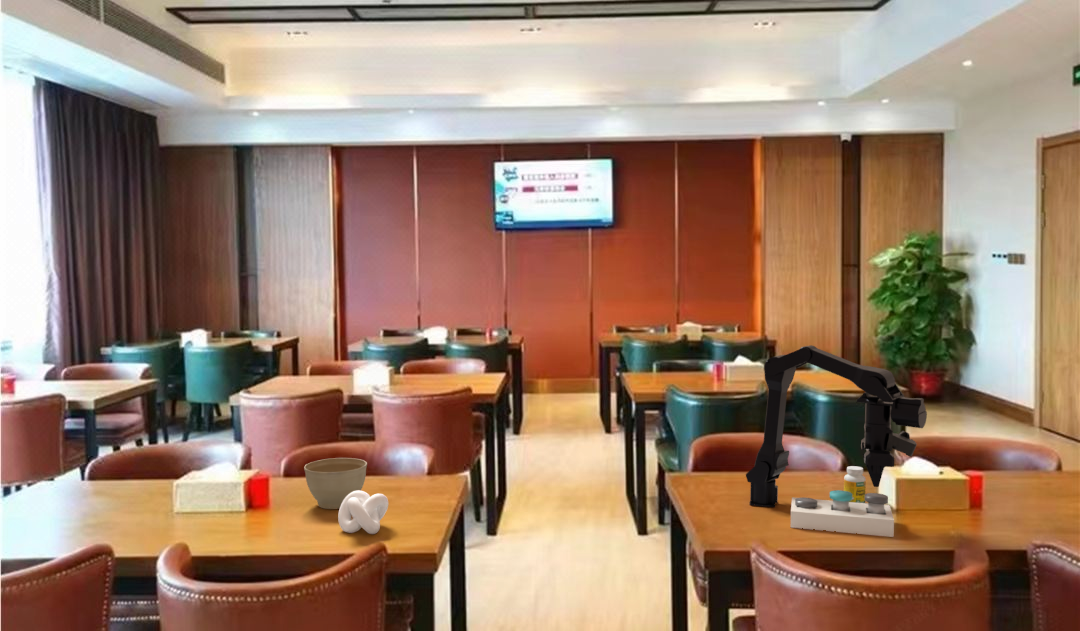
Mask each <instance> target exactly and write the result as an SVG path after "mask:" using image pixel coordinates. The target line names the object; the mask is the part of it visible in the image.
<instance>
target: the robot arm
mask: <svg viewBox="0 0 1080 631" xmlns="http://www.w3.org/2000/svg"><path fill="white" fill-rule="evenodd" d="M807 364H809V365H812V366H814V367H817V368H820V369H822V370H824V371H827V372H829V373H832V374H834V375H836V376H839V377H842V378H844V379H846V380H848V381H850V382H851V383H852V384H854V385H855V386H856V387H857V388H858V389H860V390H861V391H863V393H862V395H861V396H859V397H858V398H857V399H856V402H857V403H862V404H865V409H864V410H865V414H864V426H863V428H864V437H863V438H862V439H861V440H860V441H861V444H860V448H861V450H862V451H864V450H866V451H865V452H864V453H863V454H862V458H863V462H864V465H865V467H866V469H867V472H868V475H869V477H870V481H871V483H872V485H873V487H874V488H879V486H880V483H881V479H882V476H883V473H884V470H885V467H887V468H888V467H889V468H892V467H895V457H894V454H893V453H891V452H893V450H896V451H898V452H901V453H902V454H905V455H906V456H908V457H912V456H913V455H914V452H915V450H916V448H917V445H918V444H917V442H916V441H915V440H914V439H911V436H910V433H909V432H907V431H904V430H902V431H900V432H899V433H897V432H896V433H894V431H893V428H892V424H891V423H892V422H893V423H894V424H895V425H896V426H902V427H907V428H908V427H909V428H918V429H923V428H924V427H925V425H926V422H927V415H928V412H927V408H926V406H925V402H924V401H925V400H924V398H922V397H921V398H920V397H916V398H914V397H913V398H912V397H905V395H904V393H903V392H902V391H901V389H900V388H899V386H898V385H897V383H896V379H895V376H894V373H892V372H891V371H890V370H888V369H884V368H880V367H876V366H869V365H862V364H859V363H855V362H853V361H850V360H848V359H845V358H843V357H841V356H837V355H835V354H833V353H831V352H828V351H825V350H822V349H820V348H818V347H817V346H815V345H806V346H805V345H804V346H801V347H800V348H799V349H797V350H795V351H792V352H790V353H788V354H780V355H776V356H772V357H770V358H769V357H768V359H767V360H766V361H765V362H764V365H763V366H764V367H763V369H764V370H763V372H764V380H765V384H766V386H767V389H768V390H767V391H768V392H767V403H766V412H765V413H766V414H765V423H764V432H763V442H762V444H761V447H760V448H759V450H758V452H757V454H756V459H755V462H754V466H753V467H752V468H751V469H750V470H749V471H747V472H746V473H745V477H746V481H747V482H748V483H749V484H750V490H749V491H750V492H749V493H750V494H749V497H750V500H749V506H756V507H768V508H775V507H776V504H778V501H779V498H778V497H779V492H778V491H779V486H778V485H777V482H776V480H778V479H779V478H780V476H781V474H782V473H783V472H784V471H785V470H786V469H787V467H788V466H789V455H790V451H789V450H785V448H784V444H783V438H784V436H783V435H784V426H785V417H786V416H785V415H786V407H787V406H786V405H787V396H788V390H789V388H790V386H791V384H792V382H793V380H794V376H795V373H796V370H797V369H798V368H802V367H803V366H804V365H807Z"/></svg>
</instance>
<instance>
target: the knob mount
mask: <svg viewBox="0 0 1080 631" xmlns="http://www.w3.org/2000/svg"><path fill="white" fill-rule="evenodd" d="M796 498H797V497H795V496H794V497H793V496H792V497H791V504H790V506H791V507H790V528H791V529H802V528H803V529H804V530H813V529H815V531H823V530H826V532H834V531H836V533H844V534H845V533H847V534H856V533H857V534H859V535H867V536H876V537H877V536H879V537H891V538H893V537H894V534H895V533H894V532H895V531H894V530H895V519H894V515H893V512H892V509H891V506H890V505H889V504H884V515H883V514H871V513H868V502H865V503H855V502H849V511H836V510H833V500H832V499H830V500H828V499H816V498H814V499H815V500H817V507H816V508H814V509H813V508H811V509H807V508H800V507H797V506H796V505H795V499H796ZM803 529H802V530H803Z"/></svg>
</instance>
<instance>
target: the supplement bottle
mask: <svg viewBox="0 0 1080 631" xmlns="http://www.w3.org/2000/svg"><path fill="white" fill-rule="evenodd" d="M846 473H847V474H845V475H844V477H843V491H847V492H850V493H852V500H851V501H849V502H855V503H866V501H865V494H866V490H867V489H866V487H867V486H866V481H867V480H866V477H865V476H864V475H863V474H864V468H863V467H862V466H855V465H850V466H847V467H846Z"/></svg>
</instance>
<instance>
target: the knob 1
mask: <svg viewBox="0 0 1080 631" xmlns="http://www.w3.org/2000/svg"><path fill="white" fill-rule="evenodd" d="M795 498H796V499H795V505H796V506H797V507H800V508H807V509H811V508H813V509H814V508H816V507H817V500H815V499H816V498H811V497H795Z"/></svg>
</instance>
